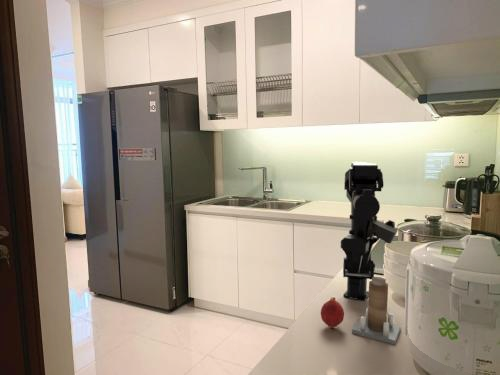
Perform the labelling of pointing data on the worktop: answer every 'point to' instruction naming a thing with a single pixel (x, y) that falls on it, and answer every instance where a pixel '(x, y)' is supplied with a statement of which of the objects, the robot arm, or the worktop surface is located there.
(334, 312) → the pomegranate
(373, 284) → the pepper mill
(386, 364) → the worktop surface
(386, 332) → the pin tray
